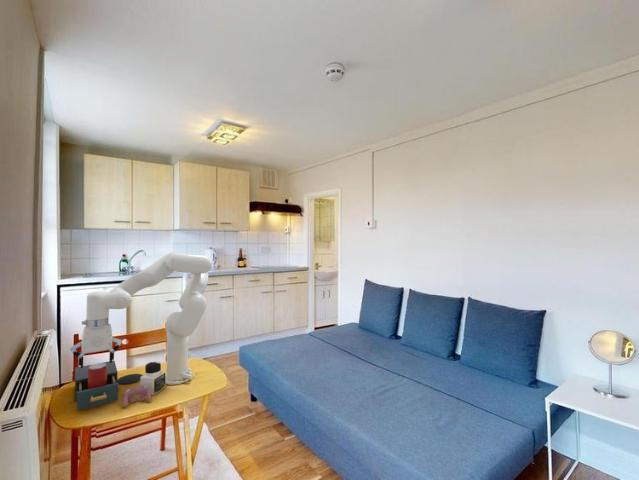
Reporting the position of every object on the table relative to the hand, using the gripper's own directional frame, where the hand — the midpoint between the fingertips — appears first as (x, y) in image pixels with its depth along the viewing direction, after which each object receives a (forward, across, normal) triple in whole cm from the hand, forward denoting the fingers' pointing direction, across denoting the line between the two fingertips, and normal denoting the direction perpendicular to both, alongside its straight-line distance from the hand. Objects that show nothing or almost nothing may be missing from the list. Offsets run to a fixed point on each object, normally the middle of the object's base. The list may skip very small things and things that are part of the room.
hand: (96, 364), depth 130 cm
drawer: (+14, +1, -1) cm, 14 cm away
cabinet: (+15, +1, +13) cm, 20 cm away
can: (+13, 0, 0) cm, 13 cm away
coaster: (+15, +14, +14) cm, 25 cm away
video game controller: (+15, +13, -10) cm, 23 cm away
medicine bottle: (+15, +20, -3) cm, 26 cm away
